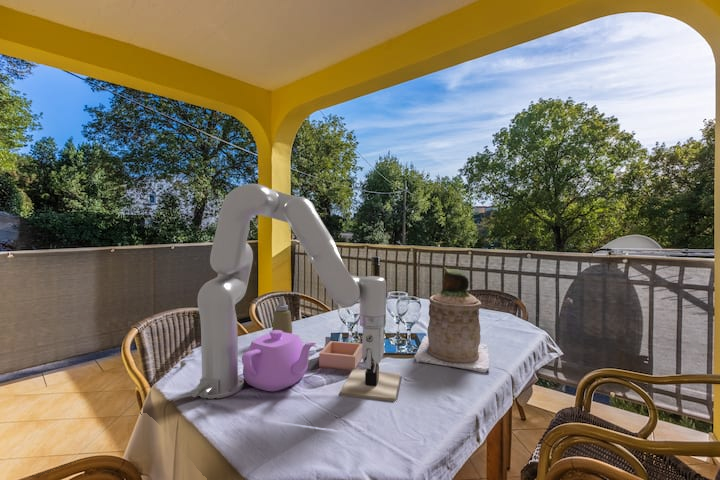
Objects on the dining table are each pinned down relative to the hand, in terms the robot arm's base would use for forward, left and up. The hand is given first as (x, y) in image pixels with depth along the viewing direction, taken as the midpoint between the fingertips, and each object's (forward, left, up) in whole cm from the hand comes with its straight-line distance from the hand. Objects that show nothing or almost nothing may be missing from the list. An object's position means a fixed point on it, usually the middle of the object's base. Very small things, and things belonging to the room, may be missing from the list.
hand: (372, 381), depth 98 cm
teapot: (-3, +28, -2) cm, 28 cm away
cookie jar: (+30, -24, -2) cm, 38 cm away
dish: (+14, +13, -1) cm, 19 cm away
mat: (0, 0, -1) cm, 1 cm away
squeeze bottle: (+29, +42, -2) cm, 51 cm away
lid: (0, 0, -1) cm, 1 cm away
